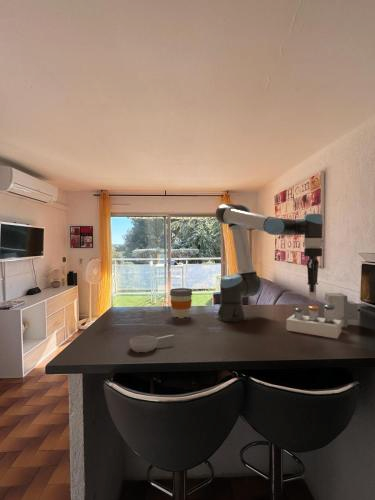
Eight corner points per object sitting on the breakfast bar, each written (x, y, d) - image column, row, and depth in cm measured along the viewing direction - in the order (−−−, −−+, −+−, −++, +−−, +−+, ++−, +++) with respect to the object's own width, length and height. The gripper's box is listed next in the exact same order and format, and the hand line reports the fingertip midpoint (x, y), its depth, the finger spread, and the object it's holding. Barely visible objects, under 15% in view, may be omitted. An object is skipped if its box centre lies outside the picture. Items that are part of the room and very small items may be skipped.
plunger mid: (307, 326, 128) (307, 307, 128) (309, 324, 132) (309, 305, 131) (317, 327, 125) (317, 308, 125) (319, 325, 129) (319, 306, 129)
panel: (286, 330, 130) (286, 319, 130) (293, 324, 139) (293, 314, 139) (337, 338, 117) (337, 326, 117) (341, 331, 127) (341, 320, 127)
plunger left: (292, 327, 132) (292, 309, 132) (295, 325, 135) (295, 307, 135) (302, 329, 129) (302, 310, 129) (305, 326, 133) (304, 308, 133)
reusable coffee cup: (196, 315, 160) (196, 289, 160) (184, 320, 150) (184, 292, 150) (178, 312, 167) (178, 287, 167) (165, 317, 157) (165, 290, 156)
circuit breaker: (361, 327, 132) (361, 296, 132) (329, 326, 135) (329, 295, 135) (355, 323, 140) (355, 293, 139) (324, 322, 143) (324, 292, 142)
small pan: (127, 346, 112) (127, 336, 112) (169, 339, 119) (169, 331, 119) (133, 356, 102) (132, 345, 102) (178, 348, 109) (178, 338, 109)
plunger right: (322, 325, 124) (322, 306, 124) (324, 323, 128) (324, 304, 128) (334, 327, 122) (333, 307, 121) (335, 325, 125) (335, 305, 125)
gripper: (319, 248, 120) (318, 302, 121) (324, 247, 131) (324, 297, 132) (300, 247, 125) (300, 300, 126) (307, 247, 135) (307, 295, 136)
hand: (312, 298), depth 129 cm, fingers closed
